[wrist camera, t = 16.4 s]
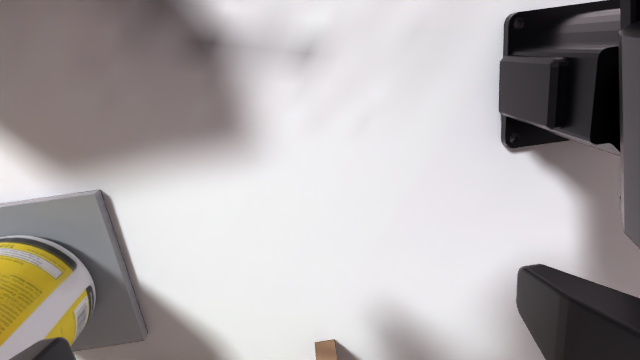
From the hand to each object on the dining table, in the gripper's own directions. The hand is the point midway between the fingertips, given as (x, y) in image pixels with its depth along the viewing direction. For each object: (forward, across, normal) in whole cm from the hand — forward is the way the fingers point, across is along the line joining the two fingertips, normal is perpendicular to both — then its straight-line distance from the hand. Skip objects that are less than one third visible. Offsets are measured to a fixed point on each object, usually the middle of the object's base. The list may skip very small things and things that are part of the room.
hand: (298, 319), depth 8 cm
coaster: (+13, +14, +5) cm, 20 cm away
